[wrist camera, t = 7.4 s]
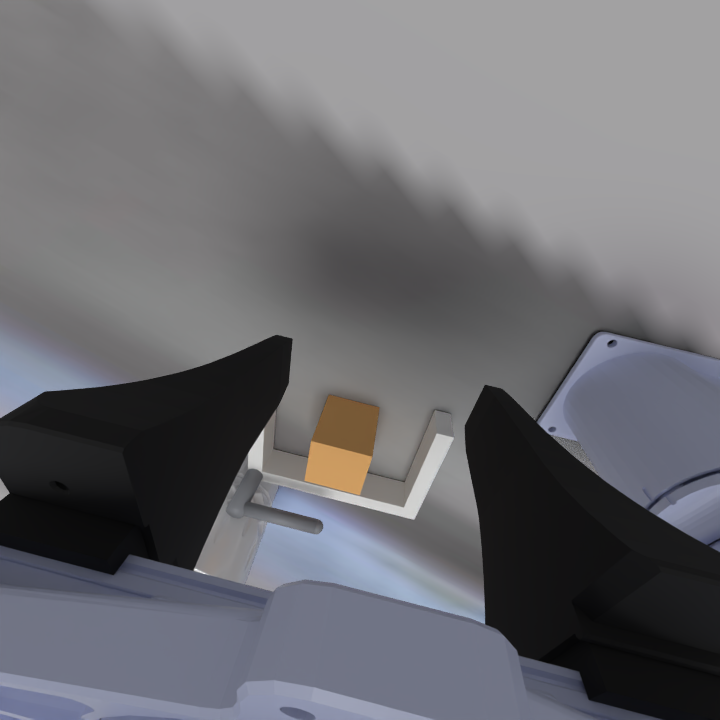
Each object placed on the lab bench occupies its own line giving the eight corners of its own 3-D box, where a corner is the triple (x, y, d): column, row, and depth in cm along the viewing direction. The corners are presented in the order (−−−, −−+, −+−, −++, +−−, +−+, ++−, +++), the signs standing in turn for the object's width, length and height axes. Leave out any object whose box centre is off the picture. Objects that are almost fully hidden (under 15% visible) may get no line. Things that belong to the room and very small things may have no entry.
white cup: (254, 511, 34) (201, 625, 25) (192, 468, 32) (111, 578, 23) (301, 483, 30) (258, 605, 22) (236, 433, 28) (159, 546, 20)
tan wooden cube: (379, 407, 24) (372, 456, 20) (368, 443, 27) (359, 495, 22) (329, 394, 25) (311, 441, 20) (322, 431, 27) (304, 480, 22)
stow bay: (450, 413, 24) (460, 480, 19) (413, 494, 29) (413, 564, 24) (262, 367, 24) (221, 420, 19) (258, 455, 29) (225, 515, 24)
